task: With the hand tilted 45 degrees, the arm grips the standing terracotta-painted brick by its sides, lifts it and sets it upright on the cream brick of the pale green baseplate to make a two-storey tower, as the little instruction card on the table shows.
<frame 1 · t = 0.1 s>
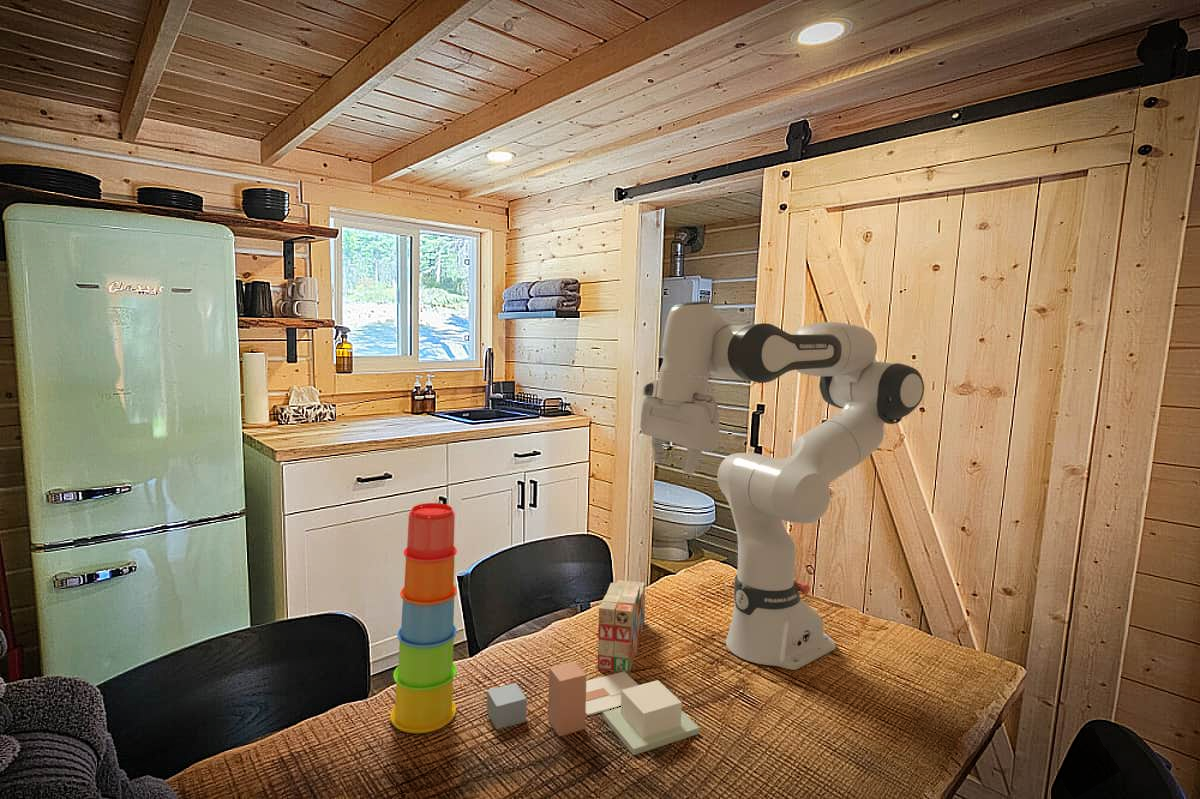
hand: (672, 467, 110), 39 cm above the table, tool pointing down, fingers open, 8 cm apart
stacking cups: (423, 716, 100), on the table
tower base: (650, 725, 98), on the table
slate brick: (506, 717, 100), on the table
terracotta brick: (566, 724, 98), on the table
instruction card: (607, 693, 107), on the table
stack of blocks: (622, 645, 125), on the table
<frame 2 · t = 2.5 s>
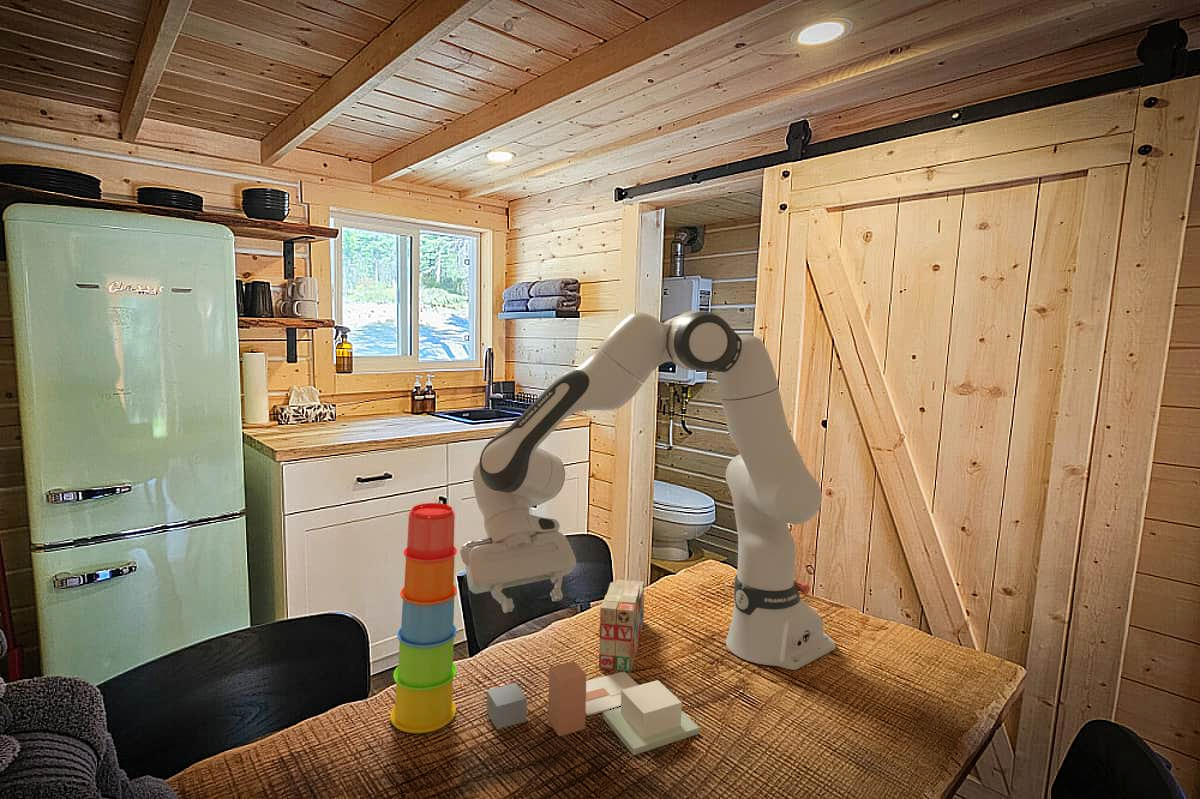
hand: (534, 605, 107), 15 cm above the table, tool tilted 45°, fingers open, 8 cm apart
nothing on the table moved.
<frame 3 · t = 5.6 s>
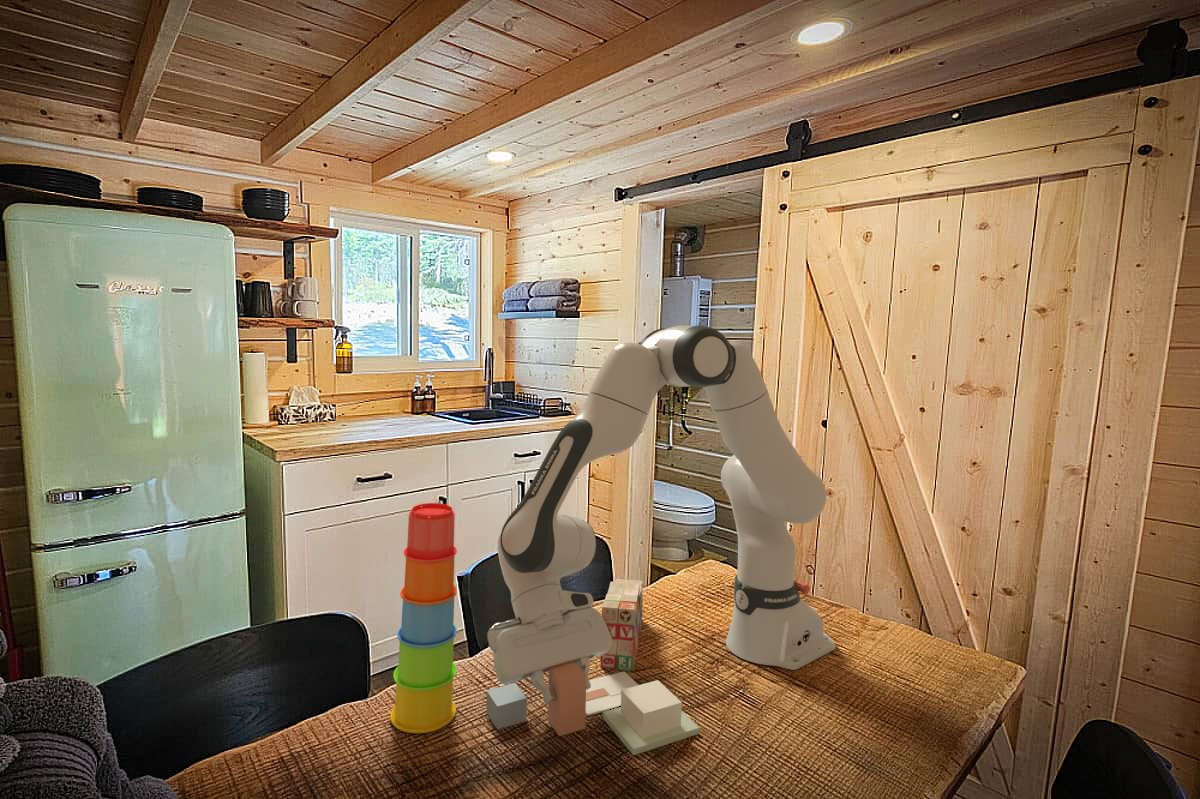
hand: (568, 695, 97), 5 cm above the table, tool tilted 45°, fingers closed on terracotta brick, 5 cm apart
terracotta brick: (566, 724, 98), on the table, touching gripper
everything else where it was.
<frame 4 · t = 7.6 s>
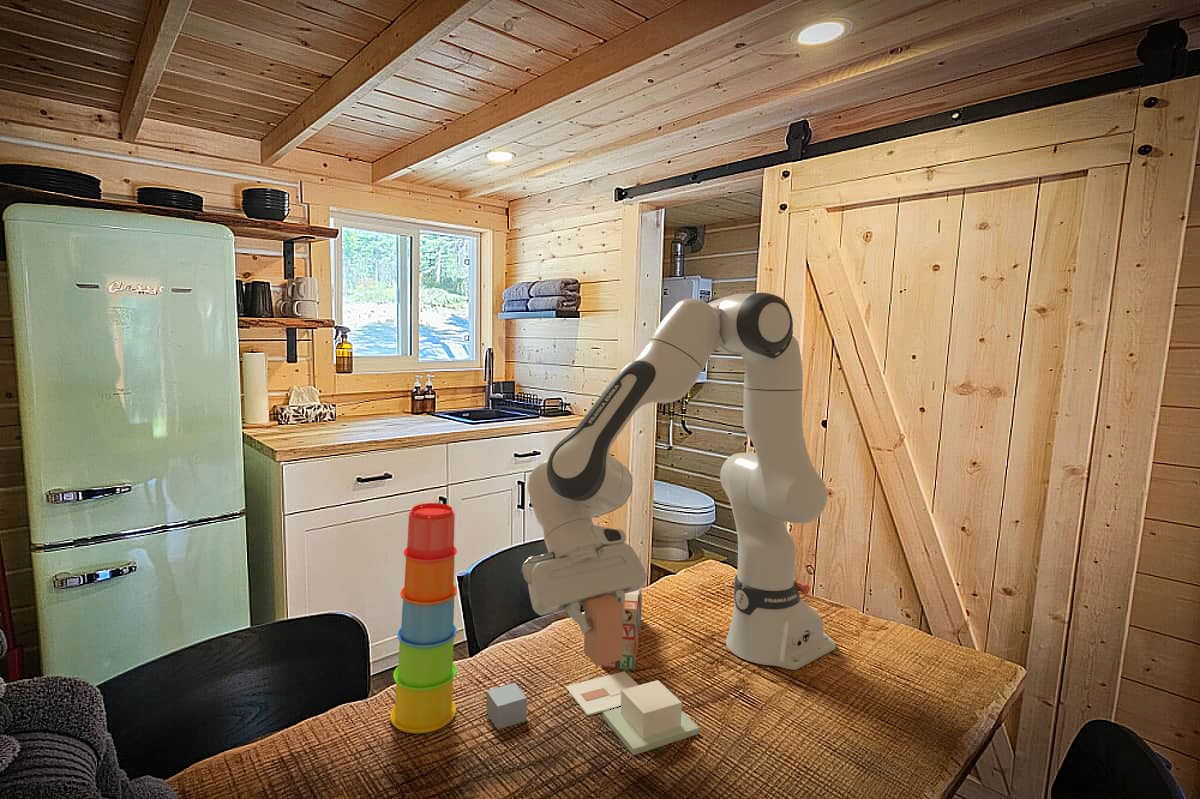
hand: (605, 626, 96), 17 cm above the table, tool tilted 45°, fingers closed on terracotta brick, 5 cm apart
terracotta brick: (603, 656, 97), point 11 cm above the table, touching gripper
when the fingers open (12 cm above the table, at t = 9.5 s): terracotta brick drops 1 cm, resting on tower base.
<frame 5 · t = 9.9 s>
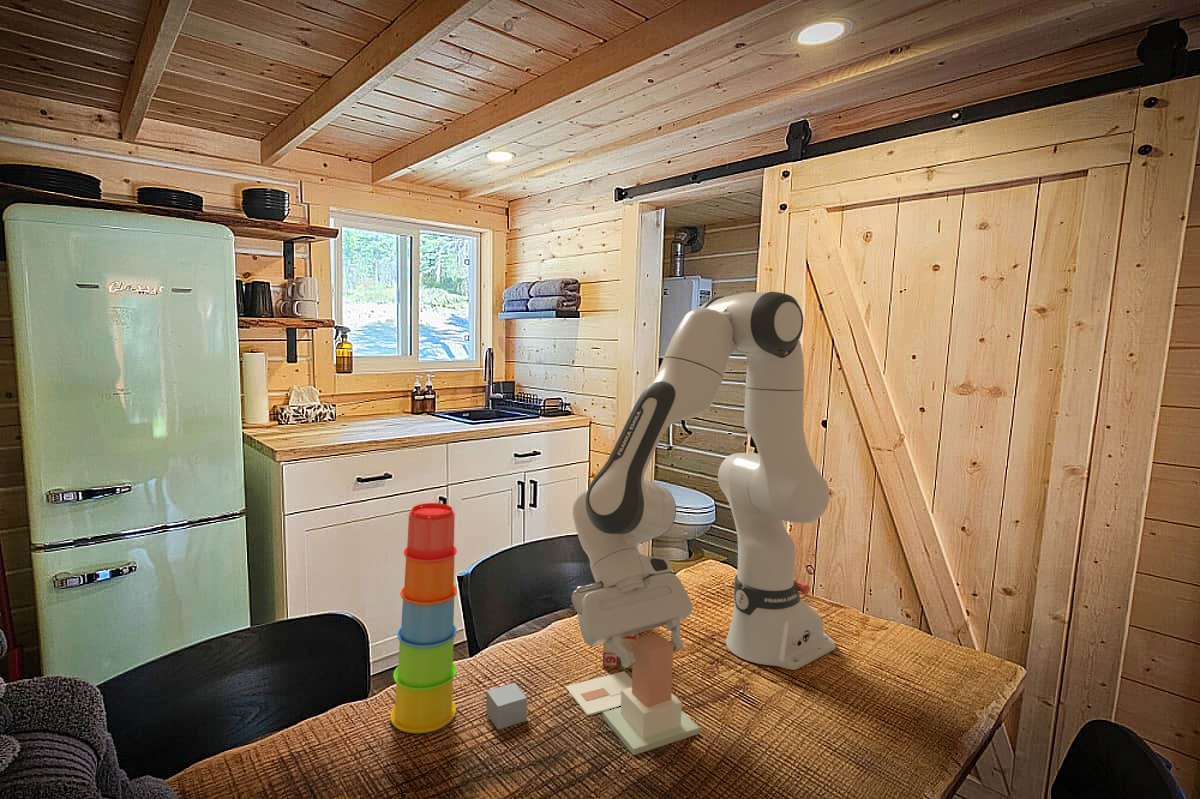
hand: (654, 657, 97), 12 cm above the table, tool tilted 45°, fingers open, 8 cm apart
terracotta brick: (651, 696, 98), point 5 cm above the table, touching tower base
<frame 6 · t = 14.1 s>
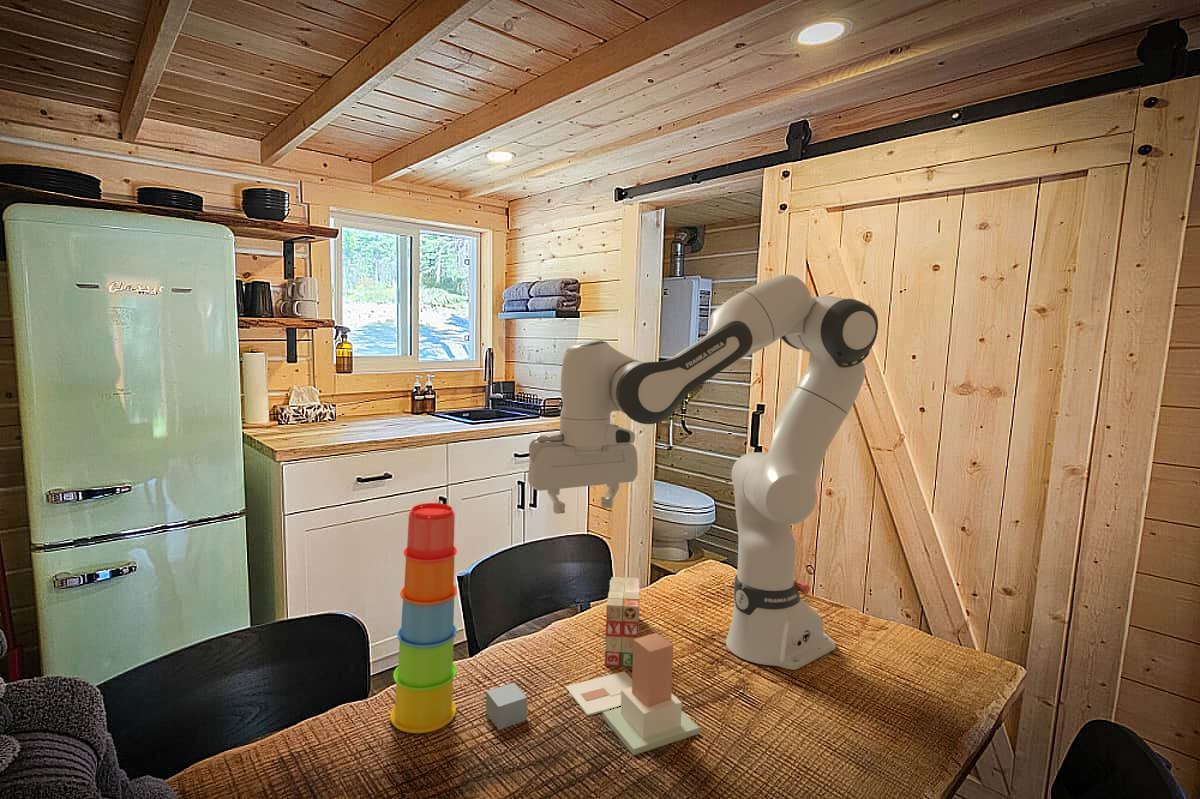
hand: (583, 510, 109), 31 cm above the table, tool pointing down, fingers open, 8 cm apart
at the end: terracotta brick 0.0 cm off-centre on the tower base, point 5.0 cm above the tower base's base; terracotta brick tilted 0°; the gripper is holding nothing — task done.
